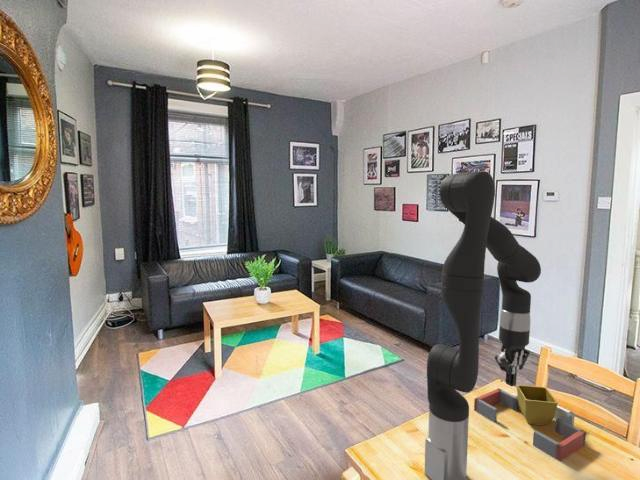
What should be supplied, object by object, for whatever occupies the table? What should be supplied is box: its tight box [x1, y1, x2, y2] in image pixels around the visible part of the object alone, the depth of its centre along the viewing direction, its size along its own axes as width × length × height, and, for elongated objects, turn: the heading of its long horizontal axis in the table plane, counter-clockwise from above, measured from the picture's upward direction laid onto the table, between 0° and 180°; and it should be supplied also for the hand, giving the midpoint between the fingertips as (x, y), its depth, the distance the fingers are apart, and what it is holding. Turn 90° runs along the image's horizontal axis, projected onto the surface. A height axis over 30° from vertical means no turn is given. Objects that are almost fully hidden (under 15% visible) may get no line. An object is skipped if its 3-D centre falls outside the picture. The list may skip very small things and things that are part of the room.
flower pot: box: [516, 384, 559, 426], centre depth 112 cm, size 9×9×9 cm
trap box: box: [473, 388, 587, 462], centre depth 111 cm, size 26×19×4 cm
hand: (510, 384), depth 103 cm, fingers closed
